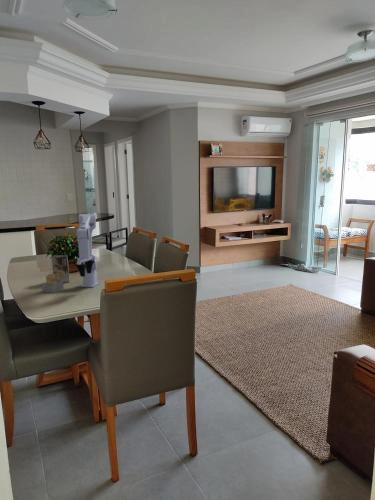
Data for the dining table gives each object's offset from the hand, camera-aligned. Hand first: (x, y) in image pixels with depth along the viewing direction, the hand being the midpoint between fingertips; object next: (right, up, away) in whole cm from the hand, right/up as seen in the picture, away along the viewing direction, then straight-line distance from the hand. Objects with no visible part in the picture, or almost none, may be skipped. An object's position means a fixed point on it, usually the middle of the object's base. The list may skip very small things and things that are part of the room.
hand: (85, 274), depth 198 cm
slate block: (-21, -9, +7) cm, 24 cm away
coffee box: (-22, -6, +24) cm, 33 cm away
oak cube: (-21, -5, +6) cm, 22 cm away
